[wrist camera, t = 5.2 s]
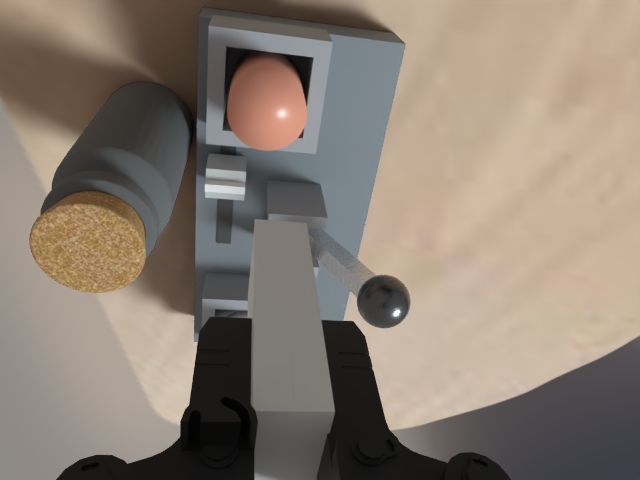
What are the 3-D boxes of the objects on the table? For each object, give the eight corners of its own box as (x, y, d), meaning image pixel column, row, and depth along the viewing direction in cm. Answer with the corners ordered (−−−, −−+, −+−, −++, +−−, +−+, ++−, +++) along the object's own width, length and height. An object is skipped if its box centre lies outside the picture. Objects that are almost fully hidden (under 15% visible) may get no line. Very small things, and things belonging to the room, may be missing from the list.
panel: (203, 3, 30) (189, 29, 24) (395, 29, 32) (426, 60, 26) (197, 317, 44) (187, 384, 38) (332, 322, 46) (344, 386, 40)
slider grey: (208, 153, 32) (205, 173, 30) (246, 156, 33) (246, 176, 30) (208, 181, 33) (204, 202, 31) (244, 184, 34) (243, 205, 31)
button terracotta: (233, 44, 28) (228, 68, 24) (304, 52, 29) (312, 78, 25) (229, 113, 30) (225, 146, 26) (296, 120, 31) (302, 154, 27)
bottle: (138, 176, 36) (75, 320, 24) (85, 103, 33) (-19, 226, 21) (210, 143, 35) (184, 274, 23) (163, 65, 32) (103, 168, 20)
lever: (268, 198, 34) (387, 304, 26) (305, 190, 35) (427, 288, 28) (264, 235, 35) (375, 346, 28) (300, 226, 37) (413, 328, 29)
